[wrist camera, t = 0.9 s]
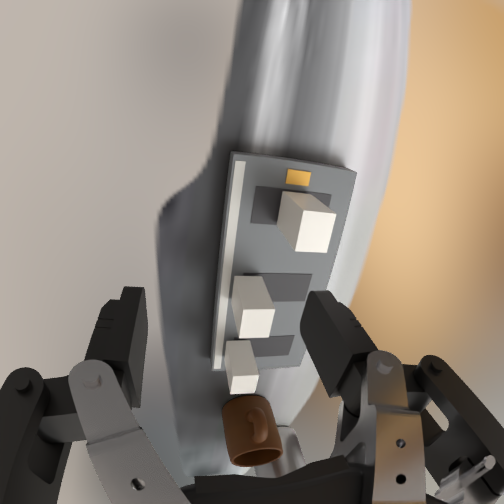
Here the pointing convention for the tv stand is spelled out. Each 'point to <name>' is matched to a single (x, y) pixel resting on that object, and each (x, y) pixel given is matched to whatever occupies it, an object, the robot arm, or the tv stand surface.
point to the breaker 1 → (252, 307)
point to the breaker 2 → (241, 367)
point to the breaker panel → (273, 249)
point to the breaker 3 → (305, 222)
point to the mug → (251, 431)
